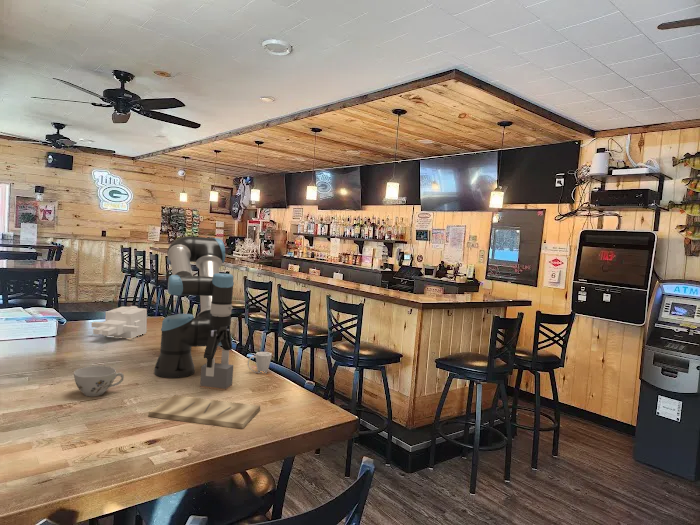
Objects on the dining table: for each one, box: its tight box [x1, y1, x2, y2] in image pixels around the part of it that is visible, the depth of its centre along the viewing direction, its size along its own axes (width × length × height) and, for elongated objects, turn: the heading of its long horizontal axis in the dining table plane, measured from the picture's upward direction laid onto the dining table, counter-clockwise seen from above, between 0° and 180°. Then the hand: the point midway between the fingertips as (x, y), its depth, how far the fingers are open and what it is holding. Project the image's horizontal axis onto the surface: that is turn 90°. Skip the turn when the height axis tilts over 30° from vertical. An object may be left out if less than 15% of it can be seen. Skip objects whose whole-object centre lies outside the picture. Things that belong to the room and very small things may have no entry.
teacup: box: [73, 365, 125, 397], centre depth 157 cm, size 15×12×8 cm
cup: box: [247, 351, 273, 374], centre depth 195 cm, size 7×10×8 cm
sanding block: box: [199, 362, 234, 391], centre depth 174 cm, size 10×6×8 cm, turn 83°
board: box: [148, 394, 261, 430], centre depth 147 cm, size 30×16×2 cm, turn 83°
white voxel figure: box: [91, 305, 148, 338], centre depth 237 cm, size 15×25×28 cm
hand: (217, 371), depth 173 cm, fingers open, 13 cm apart
